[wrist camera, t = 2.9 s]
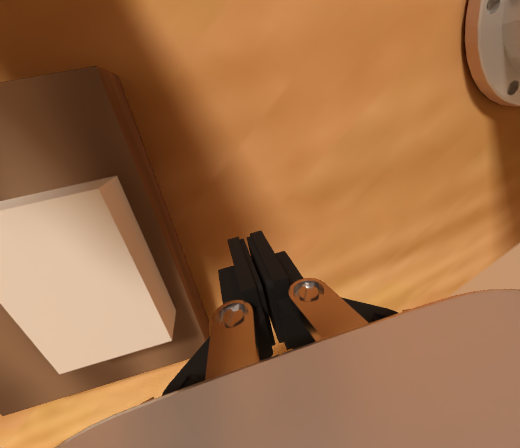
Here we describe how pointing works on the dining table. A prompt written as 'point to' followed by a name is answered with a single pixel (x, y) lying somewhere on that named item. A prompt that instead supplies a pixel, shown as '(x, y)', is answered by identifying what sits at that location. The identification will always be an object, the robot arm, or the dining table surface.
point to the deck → (76, 172)
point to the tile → (81, 275)
